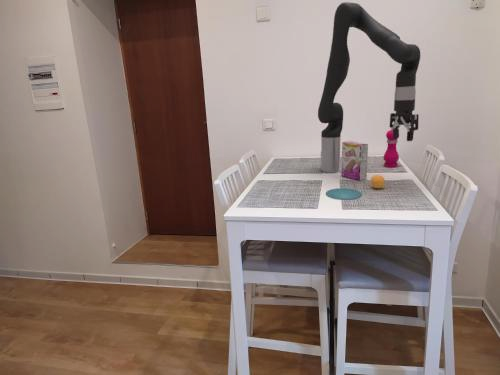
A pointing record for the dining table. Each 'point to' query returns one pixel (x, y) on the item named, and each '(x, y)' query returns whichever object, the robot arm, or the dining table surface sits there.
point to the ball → (377, 181)
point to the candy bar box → (354, 160)
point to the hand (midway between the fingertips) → (402, 139)
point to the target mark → (343, 193)
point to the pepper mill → (391, 151)
